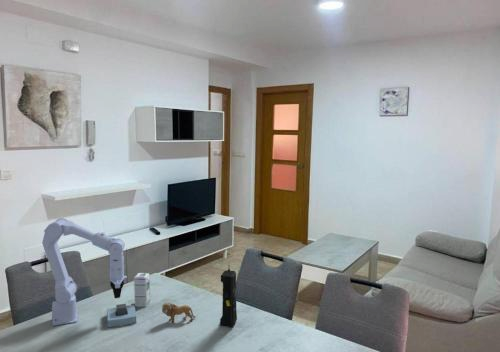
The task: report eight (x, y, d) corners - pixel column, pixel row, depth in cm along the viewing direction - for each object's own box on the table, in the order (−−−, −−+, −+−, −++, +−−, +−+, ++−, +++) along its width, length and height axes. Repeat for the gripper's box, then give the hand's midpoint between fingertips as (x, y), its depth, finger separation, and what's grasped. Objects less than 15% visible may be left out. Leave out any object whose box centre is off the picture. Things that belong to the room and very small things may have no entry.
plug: (116, 322, 165) (116, 308, 165) (116, 317, 169) (116, 304, 168) (126, 320, 167) (126, 307, 166) (126, 316, 171) (125, 303, 170)
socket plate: (107, 327, 161) (107, 320, 160) (107, 315, 171) (107, 308, 171) (136, 323, 165) (136, 316, 164) (134, 311, 175) (134, 305, 175)
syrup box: (146, 307, 180) (146, 277, 178) (134, 306, 180) (133, 276, 178) (150, 301, 186) (150, 272, 184) (138, 301, 186) (137, 272, 184)
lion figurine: (163, 326, 163) (163, 306, 162) (161, 320, 168) (161, 301, 166) (197, 320, 168) (197, 301, 167) (194, 315, 173) (194, 296, 172)
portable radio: (233, 329, 162) (234, 272, 159) (219, 327, 163) (220, 270, 160) (237, 320, 169) (238, 265, 166) (224, 318, 170) (225, 264, 167)
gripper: (127, 272, 161) (127, 303, 163) (125, 261, 175) (125, 289, 176) (109, 274, 159) (110, 305, 160) (109, 262, 172) (109, 291, 174)
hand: (117, 297), depth 168 cm, fingers closed
